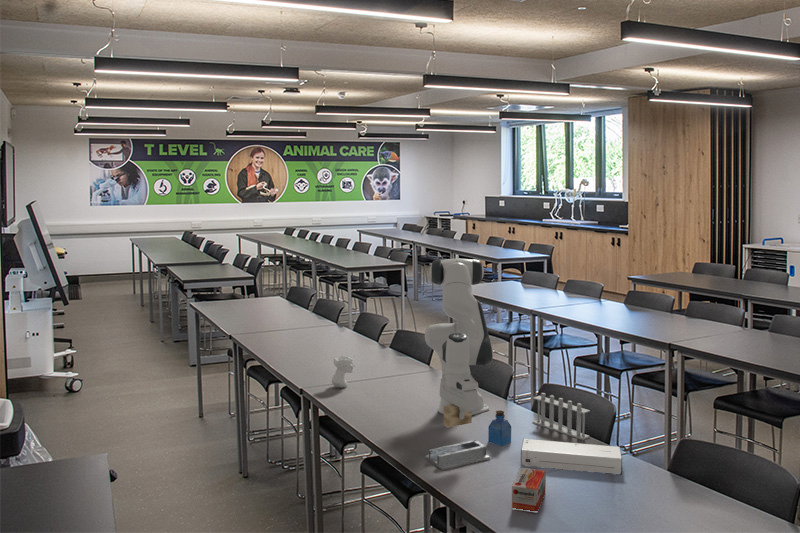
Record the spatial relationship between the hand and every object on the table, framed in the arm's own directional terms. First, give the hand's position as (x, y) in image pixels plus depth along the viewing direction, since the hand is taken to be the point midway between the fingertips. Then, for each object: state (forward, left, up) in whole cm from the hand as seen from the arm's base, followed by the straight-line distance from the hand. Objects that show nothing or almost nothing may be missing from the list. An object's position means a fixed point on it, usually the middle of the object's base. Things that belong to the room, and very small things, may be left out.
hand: (457, 416), depth 246 cm
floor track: (0, 0, -16) cm, 16 cm away
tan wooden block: (0, 0, -3) cm, 3 cm away
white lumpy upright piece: (+2, -101, -16) cm, 102 cm away
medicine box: (-2, +39, -16) cm, 42 cm away
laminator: (-32, +23, -16) cm, 43 cm away
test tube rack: (-52, -5, -16) cm, 54 cm away
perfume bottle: (-23, -6, -16) cm, 29 cm away
